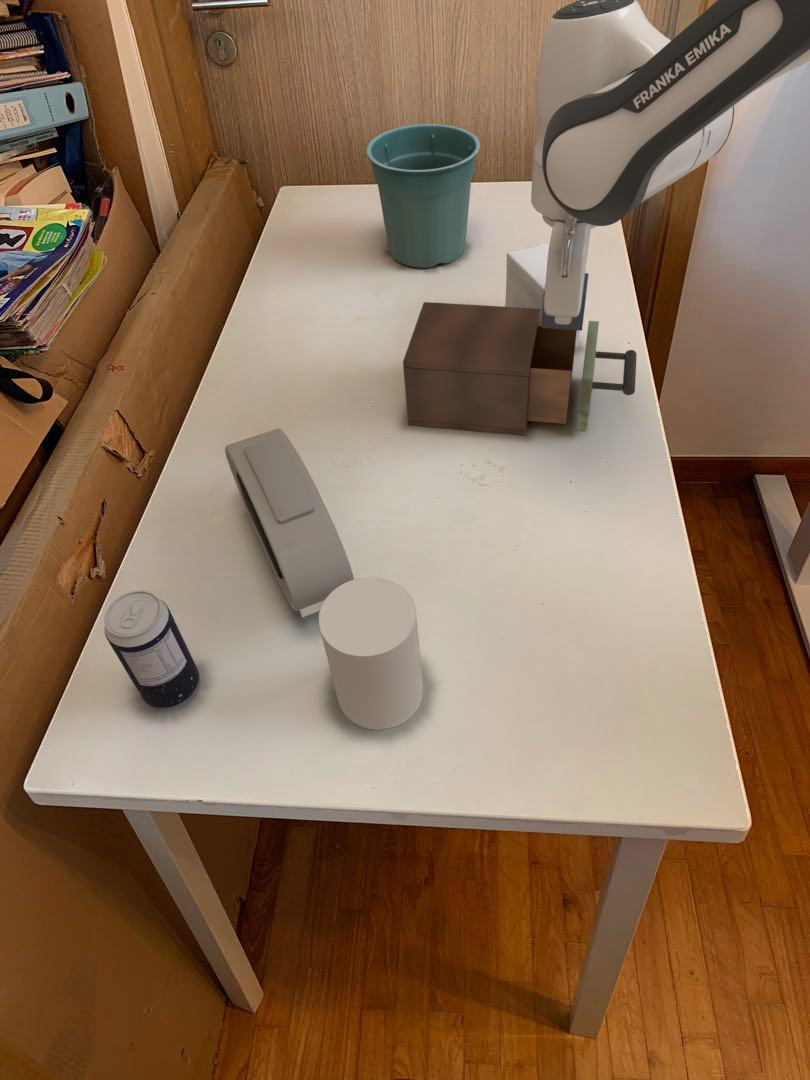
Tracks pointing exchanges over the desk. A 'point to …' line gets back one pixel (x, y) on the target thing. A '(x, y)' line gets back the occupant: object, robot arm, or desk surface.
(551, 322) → the block
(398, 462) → the desk surface
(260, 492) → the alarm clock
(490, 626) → the desk surface
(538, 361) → the drawer
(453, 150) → the flower pot
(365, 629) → the white solid cylinder
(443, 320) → the cabinet
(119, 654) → the beverage can
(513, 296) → the cosmetics box
